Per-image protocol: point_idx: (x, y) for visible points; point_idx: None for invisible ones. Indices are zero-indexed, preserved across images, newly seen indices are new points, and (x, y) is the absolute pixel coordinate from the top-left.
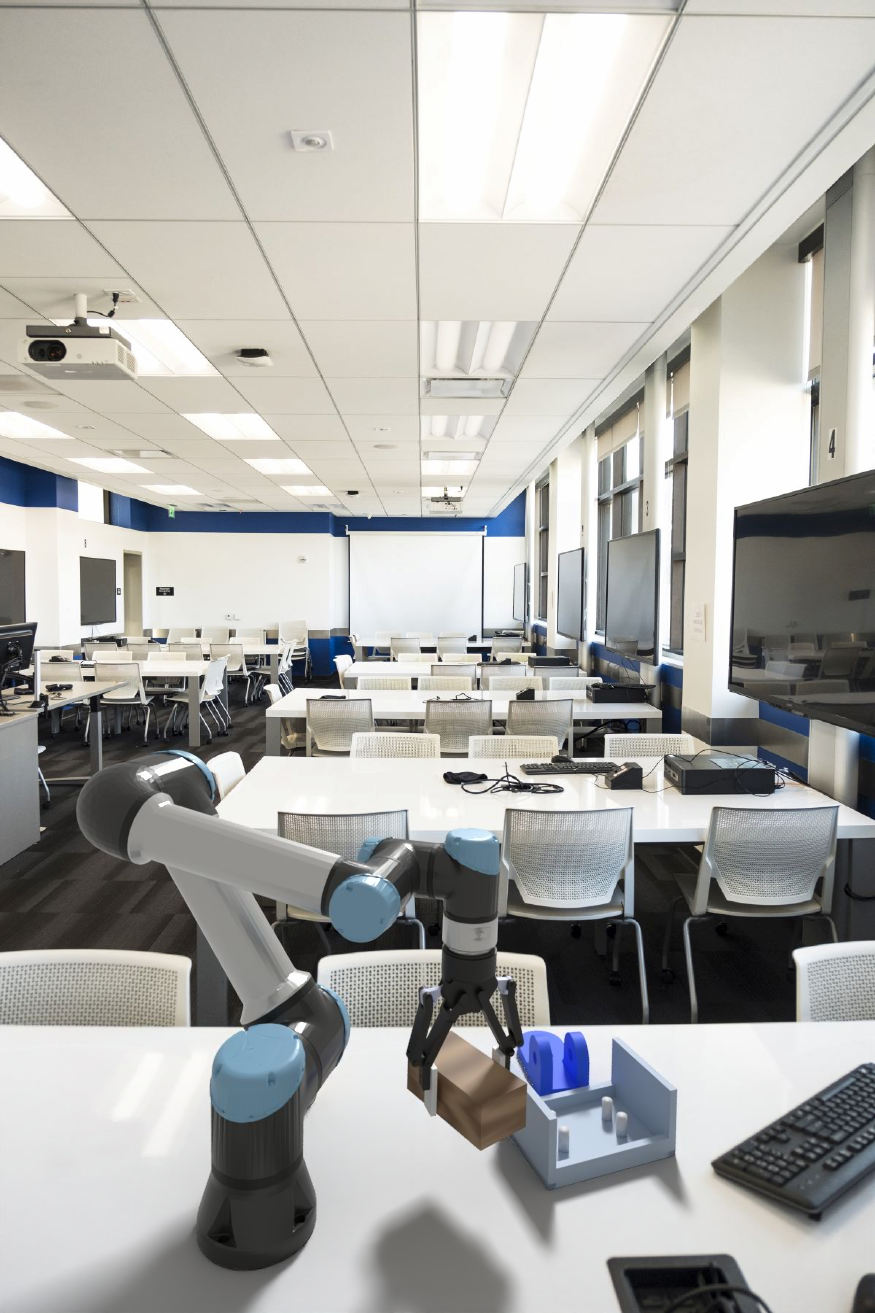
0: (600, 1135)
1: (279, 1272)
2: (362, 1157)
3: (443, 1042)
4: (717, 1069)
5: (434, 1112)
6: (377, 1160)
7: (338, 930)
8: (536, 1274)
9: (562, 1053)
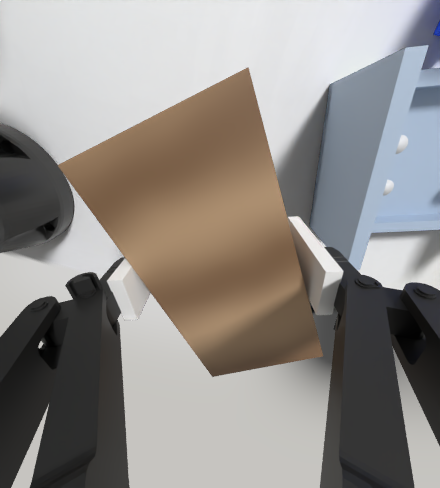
0: (435, 169)
1: (56, 244)
2: (113, 109)
3: (122, 390)
4: None
5: None
6: (134, 121)
7: None
8: None
9: None
